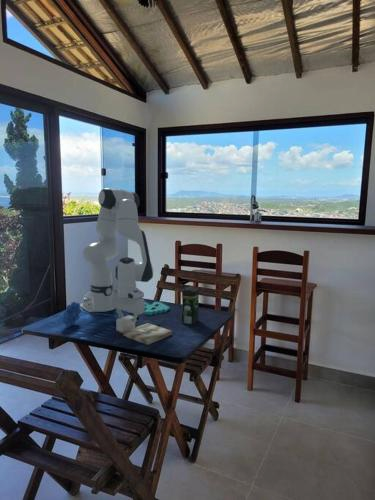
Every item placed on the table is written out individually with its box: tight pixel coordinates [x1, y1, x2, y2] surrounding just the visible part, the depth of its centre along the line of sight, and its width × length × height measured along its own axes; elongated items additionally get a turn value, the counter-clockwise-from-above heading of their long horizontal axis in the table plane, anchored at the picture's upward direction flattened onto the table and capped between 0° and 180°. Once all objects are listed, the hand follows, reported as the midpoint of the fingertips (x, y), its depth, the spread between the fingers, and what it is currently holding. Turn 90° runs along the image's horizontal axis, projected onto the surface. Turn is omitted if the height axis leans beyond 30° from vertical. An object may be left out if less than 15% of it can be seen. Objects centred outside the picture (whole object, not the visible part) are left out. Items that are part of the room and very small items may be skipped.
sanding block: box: [115, 314, 136, 334], centre depth 174 cm, size 4×8×6 cm, turn 141°
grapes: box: [62, 301, 82, 328], centre depth 178 cm, size 12×7×12 cm, turn 153°
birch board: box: [122, 322, 173, 345], centre depth 168 cm, size 16×16×2 cm
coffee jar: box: [181, 285, 200, 325], centre depth 187 cm, size 10×8×19 cm
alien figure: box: [128, 301, 171, 316], centre depth 208 cm, size 20×2×20 cm
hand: (127, 319), depth 174 cm, fingers open, 8 cm apart
